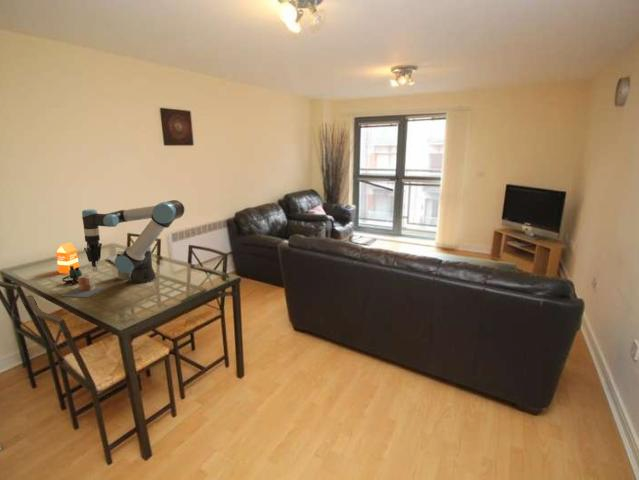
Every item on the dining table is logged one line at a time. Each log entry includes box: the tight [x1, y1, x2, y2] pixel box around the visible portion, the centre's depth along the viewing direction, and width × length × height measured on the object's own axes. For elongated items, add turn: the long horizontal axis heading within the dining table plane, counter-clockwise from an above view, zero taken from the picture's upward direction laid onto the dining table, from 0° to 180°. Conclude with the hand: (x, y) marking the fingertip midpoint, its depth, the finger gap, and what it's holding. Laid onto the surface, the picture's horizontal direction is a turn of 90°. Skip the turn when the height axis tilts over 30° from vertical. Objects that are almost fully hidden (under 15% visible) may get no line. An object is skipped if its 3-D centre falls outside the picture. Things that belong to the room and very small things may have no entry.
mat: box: [60, 286, 105, 299], centre depth 197 cm, size 16×14×1 cm
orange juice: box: [55, 241, 80, 274], centre depth 229 cm, size 8×9×20 cm
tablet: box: [106, 254, 117, 265], centre depth 257 cm, size 16×26×2 cm, turn 51°
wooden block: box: [77, 274, 96, 291], centre depth 200 cm, size 7×4×8 cm, turn 88°
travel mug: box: [115, 250, 132, 280], centre depth 221 cm, size 8×8×18 cm
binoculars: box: [62, 266, 83, 286], centre depth 209 cm, size 9×11×10 cm
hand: (95, 271), depth 208 cm, fingers closed
